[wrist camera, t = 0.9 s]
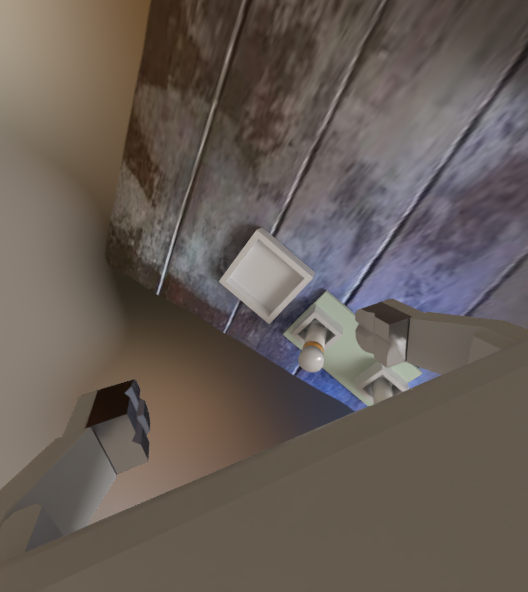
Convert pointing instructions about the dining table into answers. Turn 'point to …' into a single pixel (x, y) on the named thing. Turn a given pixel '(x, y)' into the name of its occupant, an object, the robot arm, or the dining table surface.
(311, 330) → the orange-banded cylinder plug
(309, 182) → the dining table surface
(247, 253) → the parts tray
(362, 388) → the fuse board
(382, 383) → the peg
